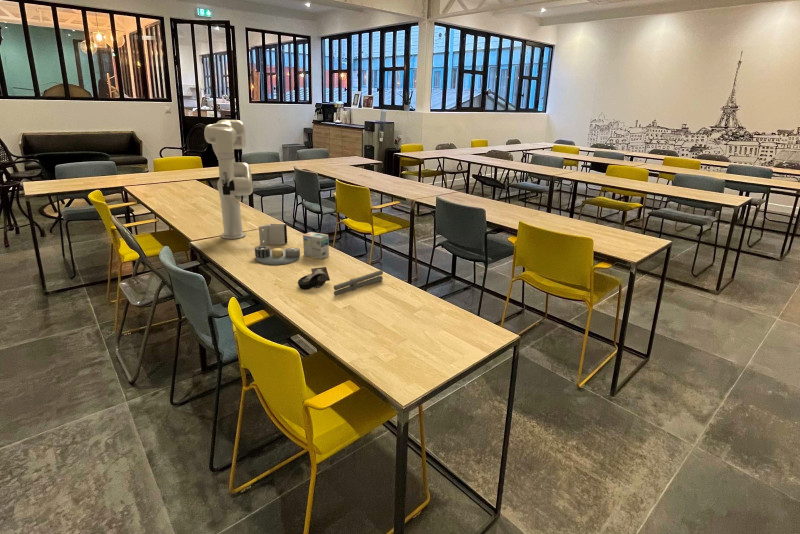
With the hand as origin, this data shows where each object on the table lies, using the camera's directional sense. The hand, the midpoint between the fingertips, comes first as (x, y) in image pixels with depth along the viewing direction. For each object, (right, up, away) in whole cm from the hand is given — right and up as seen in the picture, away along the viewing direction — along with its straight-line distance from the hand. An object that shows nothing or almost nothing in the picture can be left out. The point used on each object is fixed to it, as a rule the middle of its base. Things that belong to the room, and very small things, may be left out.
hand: (229, 192), depth 220 cm
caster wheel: (+46, -44, -31) cm, 71 cm away
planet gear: (+16, -30, -1) cm, 35 cm away
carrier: (+23, -31, 0) cm, 39 cm away
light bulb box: (+41, -30, +5) cm, 51 cm away
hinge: (+16, -24, +20) cm, 35 cm away
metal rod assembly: (+65, -45, -30) cm, 85 cm away
